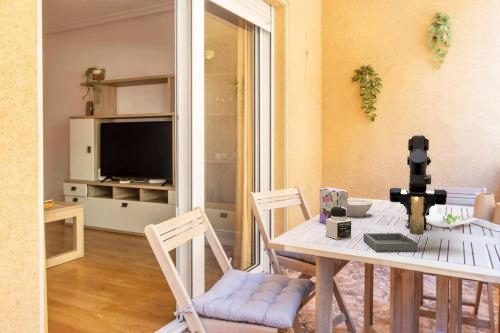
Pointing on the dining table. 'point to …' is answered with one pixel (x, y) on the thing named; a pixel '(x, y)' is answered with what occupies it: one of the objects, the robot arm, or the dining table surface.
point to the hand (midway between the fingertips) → (417, 215)
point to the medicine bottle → (338, 224)
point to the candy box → (331, 201)
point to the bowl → (357, 207)
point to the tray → (390, 242)
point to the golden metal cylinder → (417, 215)
